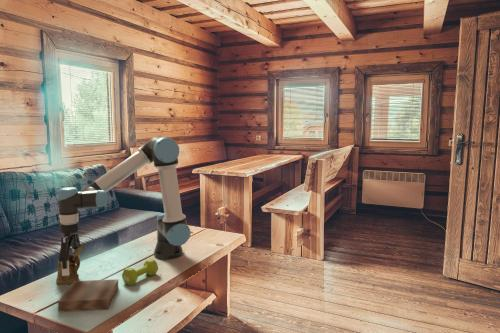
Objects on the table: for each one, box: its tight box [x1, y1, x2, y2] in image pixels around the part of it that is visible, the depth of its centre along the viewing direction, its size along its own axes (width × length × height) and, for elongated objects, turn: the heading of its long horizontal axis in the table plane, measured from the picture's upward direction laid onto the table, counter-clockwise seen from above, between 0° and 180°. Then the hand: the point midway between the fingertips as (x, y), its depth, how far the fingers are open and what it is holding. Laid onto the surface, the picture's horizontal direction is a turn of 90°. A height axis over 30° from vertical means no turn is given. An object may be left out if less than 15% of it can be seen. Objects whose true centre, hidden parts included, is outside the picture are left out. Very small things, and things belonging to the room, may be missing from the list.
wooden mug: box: [55, 243, 85, 286], centre depth 165 cm, size 9×14×18 cm, turn 74°
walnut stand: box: [57, 279, 119, 313], centre depth 150 cm, size 18×18×4 cm
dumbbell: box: [121, 258, 159, 286], centre depth 170 cm, size 16×8×7 cm, turn 148°
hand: (71, 269), depth 166 cm, fingers open, 13 cm apart
